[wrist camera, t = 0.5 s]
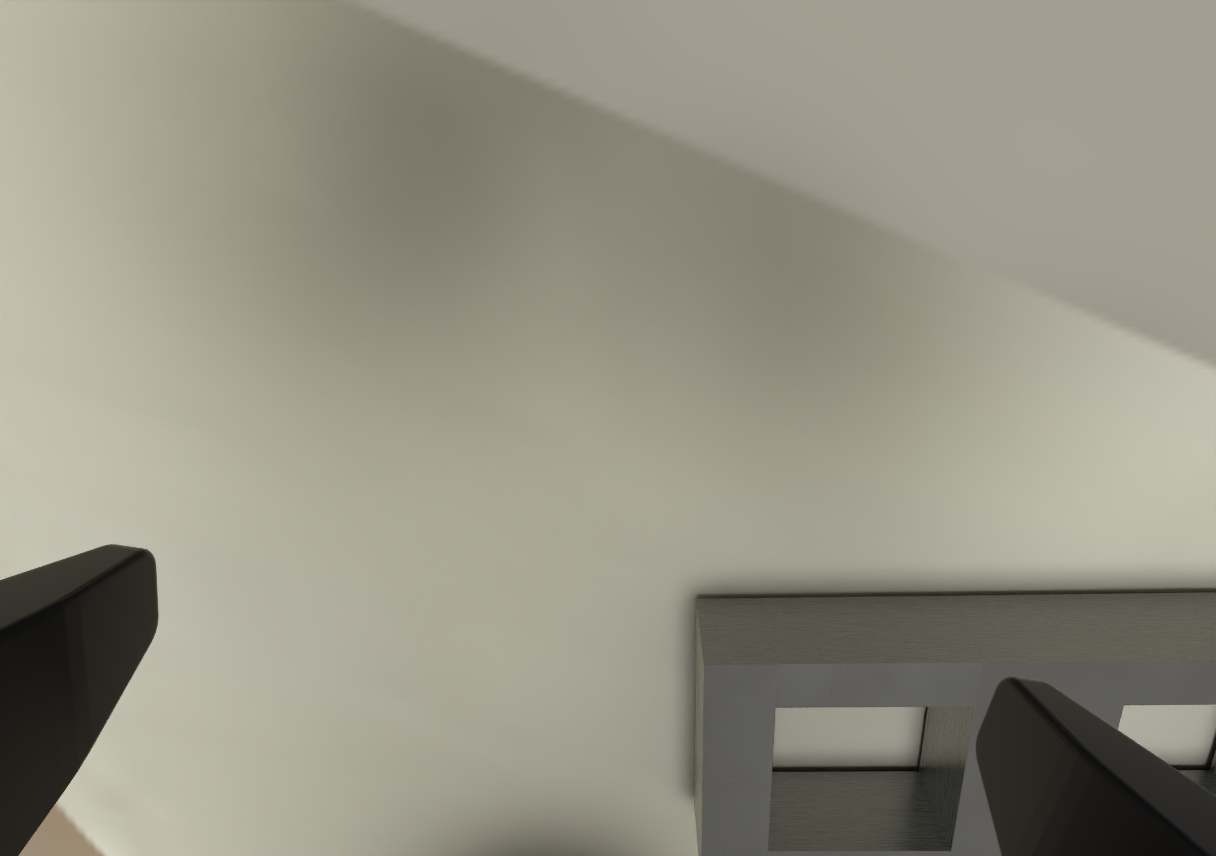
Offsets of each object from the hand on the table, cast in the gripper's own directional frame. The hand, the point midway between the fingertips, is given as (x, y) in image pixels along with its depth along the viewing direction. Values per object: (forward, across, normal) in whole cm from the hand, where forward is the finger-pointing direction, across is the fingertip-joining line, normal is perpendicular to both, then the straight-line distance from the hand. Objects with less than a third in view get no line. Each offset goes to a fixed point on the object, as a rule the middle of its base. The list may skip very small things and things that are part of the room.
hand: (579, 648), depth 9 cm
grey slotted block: (+14, -13, +10) cm, 22 cm away
